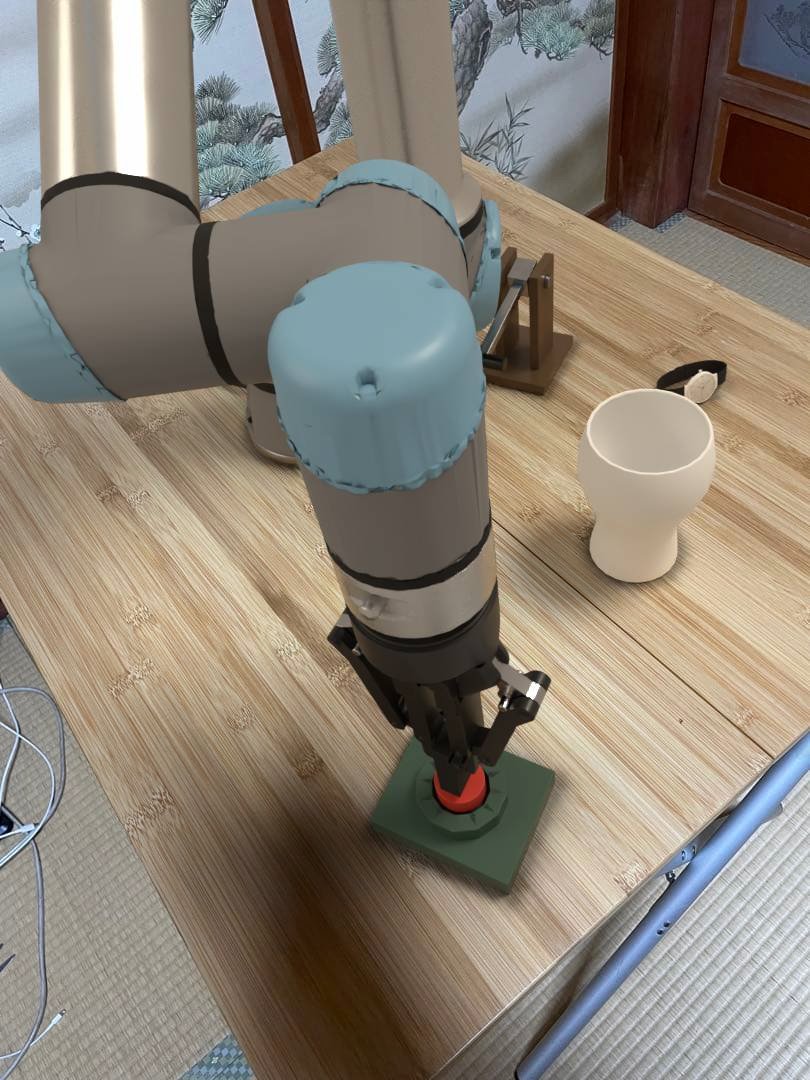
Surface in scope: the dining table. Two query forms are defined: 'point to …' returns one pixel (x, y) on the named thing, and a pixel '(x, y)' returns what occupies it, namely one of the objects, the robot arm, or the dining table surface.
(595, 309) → the dining table surface
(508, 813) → the button box
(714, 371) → the watch
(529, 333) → the bracket
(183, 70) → the robot arm
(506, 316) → the lever
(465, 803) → the button
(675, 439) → the cup
